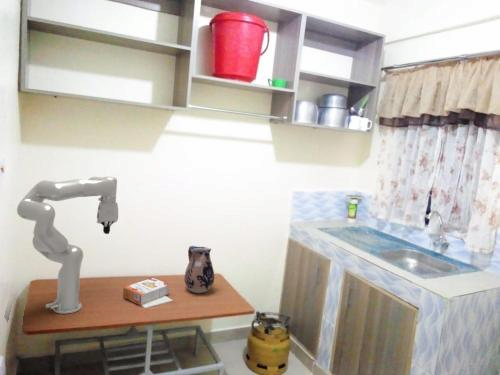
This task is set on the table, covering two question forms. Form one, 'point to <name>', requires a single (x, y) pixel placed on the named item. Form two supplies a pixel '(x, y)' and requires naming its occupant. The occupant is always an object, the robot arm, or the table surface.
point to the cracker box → (146, 291)
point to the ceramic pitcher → (199, 270)
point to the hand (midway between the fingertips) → (106, 233)
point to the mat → (157, 302)
